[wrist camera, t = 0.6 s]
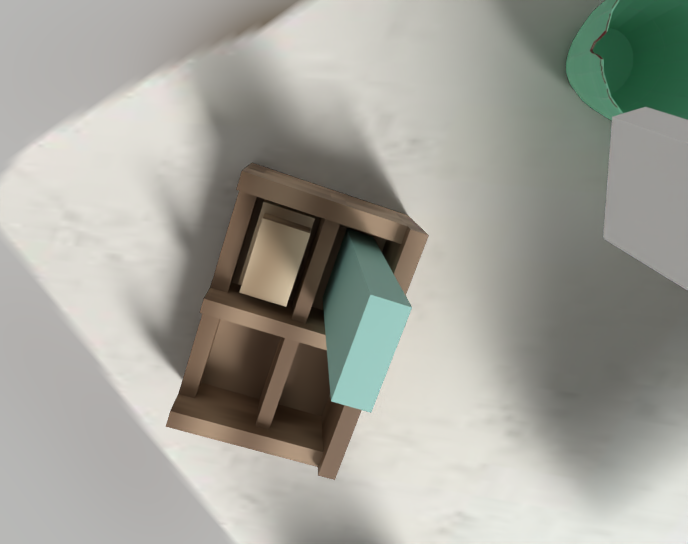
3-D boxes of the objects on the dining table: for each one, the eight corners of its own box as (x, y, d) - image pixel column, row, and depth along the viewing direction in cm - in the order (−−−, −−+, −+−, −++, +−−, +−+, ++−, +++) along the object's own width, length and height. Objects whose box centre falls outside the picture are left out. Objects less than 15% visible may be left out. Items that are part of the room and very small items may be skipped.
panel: (373, 236, 41) (412, 307, 26) (348, 305, 43) (371, 412, 27) (346, 228, 41) (370, 294, 26) (322, 297, 42) (330, 401, 27)
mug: (506, 41, 40) (569, 16, 30) (630, -44, 39) (736, -96, 29) (598, 214, 44) (681, 242, 34) (714, 141, 43) (833, 148, 33)
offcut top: (310, 227, 39) (310, 233, 37) (287, 297, 40) (286, 306, 38) (264, 212, 38) (262, 218, 37) (242, 284, 40) (239, 292, 38)
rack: (408, 215, 43) (428, 235, 35) (330, 423, 47) (334, 479, 39) (251, 162, 41) (240, 172, 34) (185, 383, 45) (162, 434, 38)
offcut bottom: (314, 213, 41) (315, 218, 39) (288, 291, 42) (288, 299, 40) (265, 197, 40) (263, 201, 38) (241, 276, 42) (238, 284, 40)
